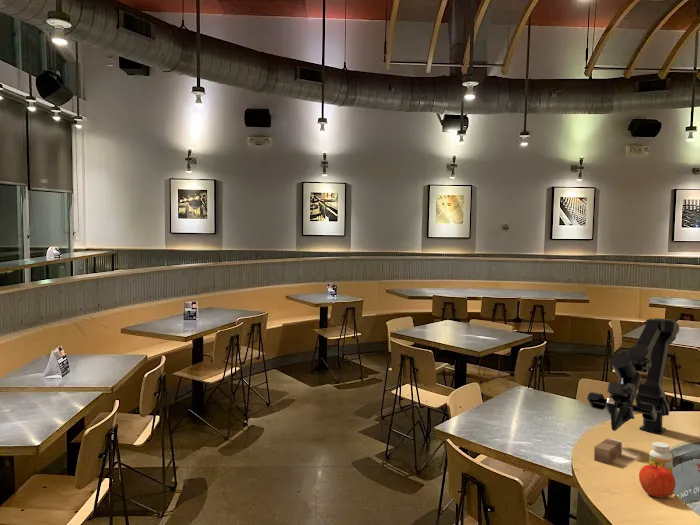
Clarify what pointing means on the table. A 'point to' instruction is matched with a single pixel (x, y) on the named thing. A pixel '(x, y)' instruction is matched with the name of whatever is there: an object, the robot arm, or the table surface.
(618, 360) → the robot arm
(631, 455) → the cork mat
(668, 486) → the apple
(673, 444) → the table surface
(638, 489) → the table surface
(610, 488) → the table surface
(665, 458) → the supplement bottle
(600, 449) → the walnut block
